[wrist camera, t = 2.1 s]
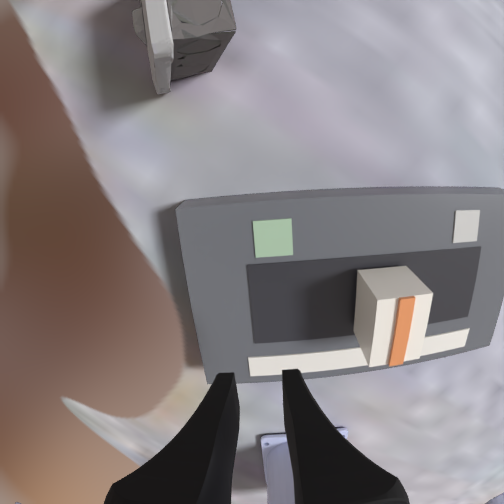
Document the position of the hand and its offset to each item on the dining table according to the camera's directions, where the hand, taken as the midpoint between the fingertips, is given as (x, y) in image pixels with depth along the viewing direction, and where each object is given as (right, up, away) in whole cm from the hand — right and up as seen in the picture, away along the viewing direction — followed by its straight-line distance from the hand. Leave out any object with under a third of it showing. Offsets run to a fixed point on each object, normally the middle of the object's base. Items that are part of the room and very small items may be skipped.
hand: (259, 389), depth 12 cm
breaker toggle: (+7, +3, +6) cm, 9 cm away
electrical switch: (-4, +19, +3) cm, 20 cm away
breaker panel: (+7, +4, +8) cm, 12 cm away
